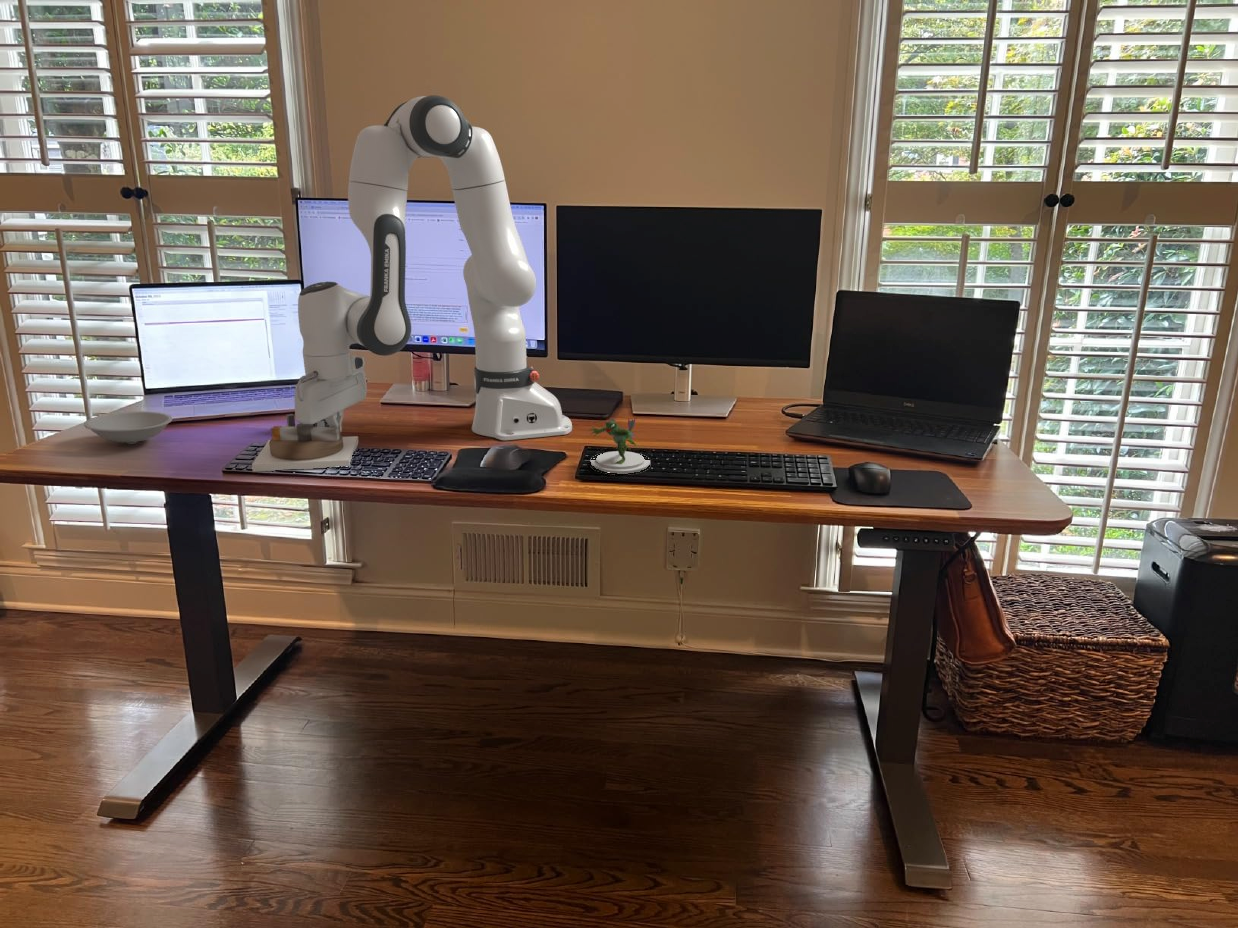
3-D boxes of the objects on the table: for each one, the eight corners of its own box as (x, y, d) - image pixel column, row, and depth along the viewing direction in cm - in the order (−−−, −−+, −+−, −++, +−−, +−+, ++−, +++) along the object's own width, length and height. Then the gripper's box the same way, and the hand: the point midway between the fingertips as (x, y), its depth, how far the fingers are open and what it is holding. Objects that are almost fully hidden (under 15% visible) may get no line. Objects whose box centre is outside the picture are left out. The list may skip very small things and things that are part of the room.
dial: (352, 438, 185) (349, 415, 183) (331, 460, 172) (328, 435, 170) (285, 438, 185) (282, 415, 183) (259, 459, 172) (256, 434, 170)
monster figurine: (577, 465, 175) (577, 415, 172) (617, 451, 184) (617, 404, 181) (623, 479, 168) (624, 427, 165) (662, 464, 177) (663, 415, 173)
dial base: (358, 443, 188) (355, 411, 185) (349, 467, 173) (346, 433, 171) (269, 446, 185) (265, 414, 183) (252, 471, 170) (248, 437, 168)
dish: (191, 436, 192) (188, 413, 190) (145, 456, 178) (141, 432, 177) (120, 430, 195) (116, 409, 193) (70, 450, 181) (65, 427, 180)
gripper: (310, 379, 164) (319, 450, 169) (369, 356, 183) (375, 420, 187) (281, 377, 166) (291, 447, 170) (342, 354, 184) (349, 418, 189)
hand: (335, 433), depth 179 cm, fingers closed, pressing on dial
